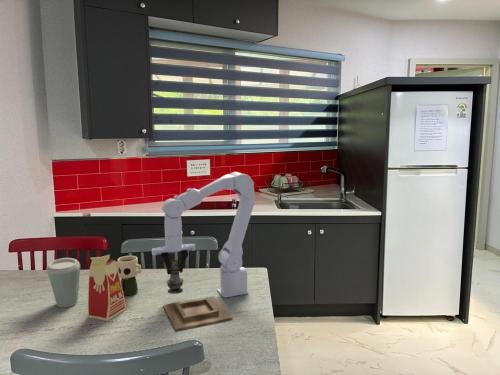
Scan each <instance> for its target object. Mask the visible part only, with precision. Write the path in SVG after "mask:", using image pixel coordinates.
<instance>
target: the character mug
mask: <svg viewBox="0 0 500 375" xmlns="http://www.w3.org/2000/svg"><path fill="white" fill-rule="evenodd" d="M138 261H139V260H138V257H137V255H125V256H120V257H119V258H117V261H115V262H116V265H117V269H118V273H119V277H120V281H121V285H122V289H123V293H124V296H127V295H129V296H130V295H134V294H135V293H137V292H138V291H139V288H138V283H137V282H138V281H137V276H138V275H139V274H141V273H142V266H141V264H139V262H138Z"/></svg>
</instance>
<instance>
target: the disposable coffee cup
mask: <svg viewBox="0 0 500 375" xmlns="http://www.w3.org/2000/svg"><path fill="white" fill-rule="evenodd" d="M45 270H46V273H47V274H48V278H49V281H50V285H51V289H52V293H53V296H54V299H55V300H54V301H55V304H56V305H57V307H58V308H70V307H72V306H74V305H76V304H77V303H78V300H79V290H80V289H79V288H80V275H81V273H80V271H81V263H80V262H79V261H78V259H76V258H72V257H62V258H58V259H53V260H52V261H50V262H48V264H47V266H46V269H45Z"/></svg>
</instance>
